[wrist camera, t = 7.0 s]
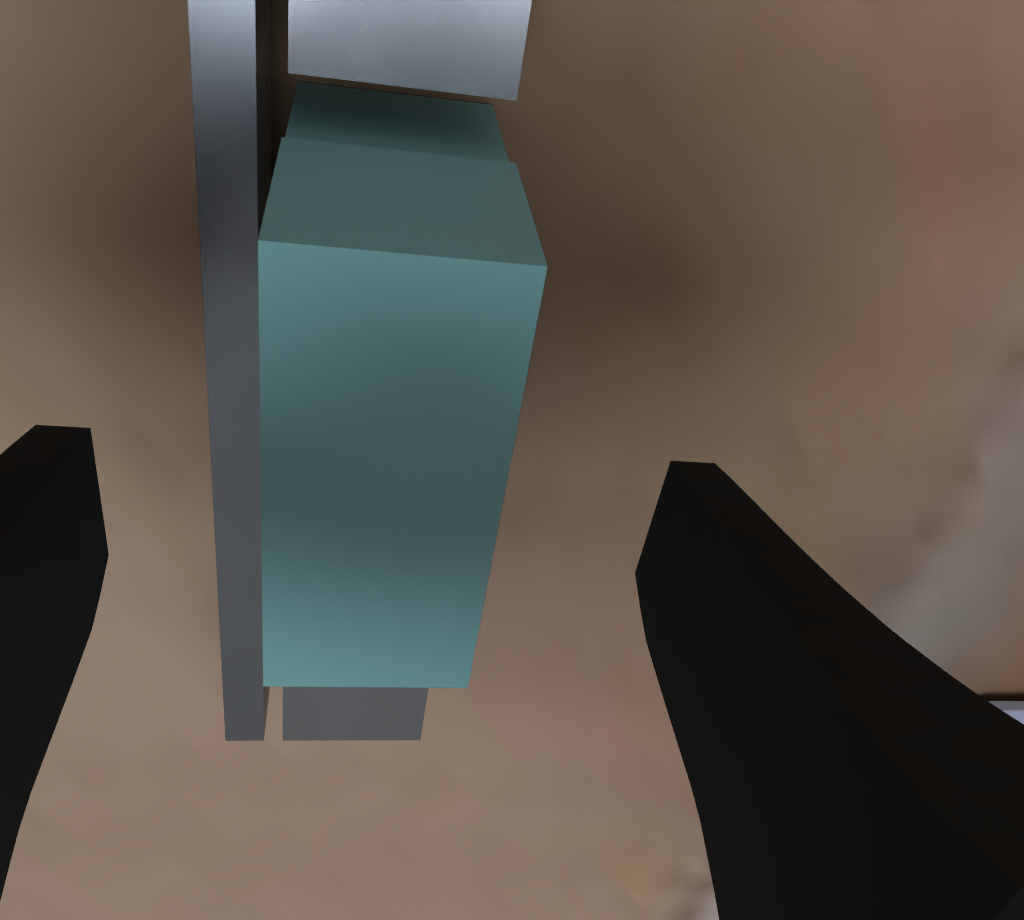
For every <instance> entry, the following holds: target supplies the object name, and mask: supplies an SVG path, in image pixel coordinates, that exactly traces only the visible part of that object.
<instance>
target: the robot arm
mask: <svg viewBox="0 0 1024 920" xmlns="http://www.w3.org/2000/svg"><path fill="white" fill-rule="evenodd" d="M108 555H109V554H108V547H107V540H106V533H105V526H104V519H103V512H102V505H101V498H100V491H99V484H98V478H97V471H96V464H95V457H94V450H93V443H92V436H91V429H90V428H80V427H62V426H45V425H35V426H34V427H33V428H31V429H30V430H29V431H28V432H27V433H25V434H24V435H23V436H22V437H20V438H19V439H18V440H17V441H16V442H14V443H13V444H12V445H11V446H10V447H9V448H8V449H6V450H5V451H4V452H3V453H2V454H1V455H0V900H1V896H2V892H3V888H4V884H5V880H6V876H7V873H8V869H9V865H10V861H11V857H12V853H13V849H14V846H15V842H16V838H17V834H18V830H19V827H20V824H21V821H22V818H23V815H24V812H25V809H26V806H27V803H28V800H29V797H30V793H31V791H32V788H33V785H34V783H35V780H36V777H37V775H38V772H39V769H40V767H41V764H42V761H43V759H44V756H45V754H46V751H47V748H48V746H49V743H50V740H51V738H52V735H53V732H54V730H55V727H56V724H57V722H58V719H59V716H60V714H61V711H62V708H63V706H64V703H65V701H66V698H67V695H68V693H69V690H70V687H71V685H72V682H73V679H74V676H75V674H76V671H77V668H78V666H79V663H80V660H81V658H82V655H83V652H84V649H85V647H86V644H87V641H88V638H89V636H90V633H91V630H92V626H93V622H94V618H95V614H96V610H97V605H98V601H99V597H100V593H101V588H102V583H103V579H104V574H105V569H106V565H107V560H108ZM635 575H636V582H637V589H638V595H639V602H640V609H641V614H642V620H643V626H644V631H645V637H646V642H647V645H648V648H649V652H650V655H651V659H652V662H653V665H654V669H655V672H656V675H657V678H658V682H659V685H660V688H661V692H662V695H663V698H664V701H665V704H666V708H667V711H668V714H669V717H670V720H671V724H672V727H673V730H674V733H675V736H676V740H677V743H678V746H679V749H680V752H681V756H682V759H683V762H684V765H685V768H686V772H687V775H688V778H689V781H690V784H691V788H692V791H693V795H694V799H695V803H696V807H697V810H698V814H699V818H700V822H701V827H702V832H703V837H704V842H705V847H706V852H707V857H708V862H709V867H710V872H711V877H712V882H713V887H714V892H715V898H716V903H717V909H718V915H719V920H1024V701H987V700H985V699H984V698H982V697H981V696H979V695H978V694H976V693H975V692H973V691H972V690H971V689H969V688H968V687H966V686H965V685H963V684H962V683H961V682H959V681H958V680H956V679H955V678H953V677H952V676H951V675H949V674H948V673H947V672H945V671H944V670H943V669H941V668H940V667H939V666H937V665H936V664H935V663H933V662H932V661H931V660H929V659H928V658H927V657H925V656H924V655H923V654H921V653H920V652H919V651H918V650H916V649H915V648H914V647H912V646H911V645H910V644H908V643H907V642H906V641H904V640H903V639H902V638H901V637H899V636H898V635H897V634H896V633H895V632H893V631H892V630H891V629H890V628H888V627H887V626H886V625H885V624H884V623H882V622H881V621H880V620H879V619H878V618H877V617H875V616H874V615H873V614H872V613H871V612H870V611H869V610H867V609H866V608H865V607H864V606H863V605H862V604H860V603H859V602H858V601H857V600H856V599H855V598H854V597H852V596H851V595H850V594H849V593H848V592H847V591H846V590H845V589H843V588H842V587H841V586H840V585H839V584H838V583H837V582H836V581H835V580H834V579H833V578H831V577H830V576H829V575H828V574H827V573H826V572H825V571H824V570H823V569H822V568H821V567H820V566H819V565H818V564H817V563H815V562H814V561H813V560H812V559H811V558H810V557H809V556H808V555H807V554H806V553H805V552H804V551H803V550H802V549H801V548H800V547H799V546H798V545H797V544H796V543H795V542H794V541H793V540H792V539H791V538H790V537H789V536H788V535H787V534H786V533H785V532H784V531H783V530H782V529H781V528H780V527H779V526H778V525H777V524H776V523H775V522H774V521H773V520H772V519H771V518H770V517H769V516H768V515H767V514H766V513H765V512H764V511H763V510H762V509H761V508H760V507H759V506H758V505H757V504H756V503H755V502H754V501H753V500H752V499H751V498H750V497H749V496H748V495H747V494H746V493H745V492H744V491H743V490H742V489H741V488H740V487H739V486H738V485H737V484H736V483H735V482H734V481H733V480H732V479H731V478H730V477H729V476H728V475H727V474H726V473H725V472H724V471H722V470H721V469H720V468H719V467H718V466H717V465H716V464H715V463H700V462H682V461H670V465H669V468H668V471H667V474H666V477H665V480H664V484H663V487H662V490H661V493H660V496H659V499H658V503H657V506H656V509H655V512H654V515H653V518H652V521H651V525H650V528H649V531H648V534H647V537H646V540H645V544H644V547H643V550H642V553H641V556H640V559H639V563H638V566H637V569H636V572H635Z"/></svg>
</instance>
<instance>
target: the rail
mask: <svg viewBox="0 0 1024 920" xmlns="http://www.w3.org/2000/svg"><path fill="white" fill-rule="evenodd" d="M531 3H532V0H289V8H288V73H292V74H300V75H308V76H317V77H325V78H333V79H341V80H350V81H358V82H366V83H374V84H383V85H391V86H399V87H407V88H416V89H424V90H432V91H440V92H449V93H457V94H465V95H473V96H482V97H490V98H498V99H506V100H514V101H517V96H518V89H519V82H520V76H521V69H522V62H523V56H524V49H525V43H526V36H527V29H528V23H529V16H530V9H531ZM188 18H189V37H190V57H191V76H192V96H193V115H194V135H195V154H196V174H197V193H198V213H199V232H200V252H201V271H202V290H203V310H204V329H205V349H206V368H207V388H208V407H209V427H210V446H211V466H212V485H213V505H214V524H215V544H216V563H217V583H218V602H219V622H220V641H221V660H222V680H223V699H224V719H225V738H226V741H244V740H264V734H265V725H266V716H267V707H268V698H269V689H270V686H263V627H262V542H261V456H260V371H259V286H258V238H259V234H260V229H261V225H262V221H263V216H264V212H265V208H266V203H267V199H268V195H269V190H270V186H271V0H188ZM427 692H428V688H406V687H283V740H420V738H421V732H422V725H423V719H424V712H425V705H426V699H427Z"/></svg>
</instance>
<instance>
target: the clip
mask: <svg viewBox="0 0 1024 920" xmlns="http://www.w3.org/2000/svg"><path fill="white" fill-rule="evenodd" d="M547 268H548V266H547V263H546V259H545V256H544V253H543V250H542V246H541V243H540V240H539V237H538V233H537V230H536V227H535V224H534V220H533V217H532V214H531V211H530V207H529V204H528V201H527V198H526V194H525V191H524V188H523V185H522V181H521V178H520V175H519V171H518V168H517V165H516V163H514V162H509V160H508V157H507V153H506V150H505V147H504V143H503V140H502V136H501V133H500V129H499V126H498V123H497V119H496V116H495V112H494V109H493V106H492V105H490V104H481V103H473V102H465V101H456V100H448V99H440V98H431V97H423V96H415V95H406V94H398V93H390V92H381V91H373V90H365V89H356V88H348V87H340V86H331V85H323V84H315V83H306V82H298V81H297V86H296V90H295V95H294V99H293V104H292V108H291V113H290V117H289V122H288V126H287V131H286V136H285V137H282V138H281V143H280V147H279V151H278V156H277V160H276V164H275V169H274V173H273V177H272V182H271V186H270V190H269V195H268V199H267V203H266V208H265V212H264V216H263V221H262V225H261V229H260V234H259V238H258V286H259V371H260V456H261V542H262V627H263V686H282V687H406V688H468V684H469V678H470V673H471V668H472V663H473V657H474V652H475V647H476V642H477V636H478V631H479V626H480V620H481V615H482V610H483V605H484V599H485V594H486V589H487V584H488V578H489V573H490V568H491V563H492V557H493V552H494V547H495V541H496V536H497V531H498V526H499V520H500V515H501V510H502V505H503V499H504V494H505V489H506V484H507V478H508V473H509V468H510V462H511V457H512V452H513V447H514V441H515V436H516V431H517V426H518V420H519V415H520V410H521V404H522V399H523V394H524V389H525V383H526V378H527V373H528V368H529V362H530V357H531V352H532V347H533V341H534V336H535V331H536V325H537V320H538V315H539V310H540V304H541V299H542V294H543V289H544V283H545V278H546V273H547Z"/></svg>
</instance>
